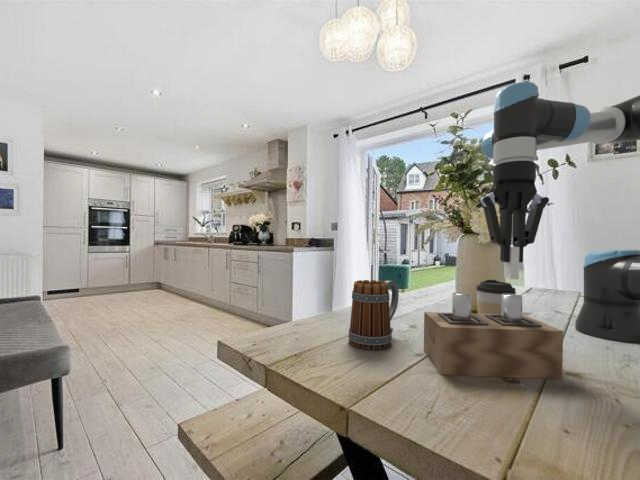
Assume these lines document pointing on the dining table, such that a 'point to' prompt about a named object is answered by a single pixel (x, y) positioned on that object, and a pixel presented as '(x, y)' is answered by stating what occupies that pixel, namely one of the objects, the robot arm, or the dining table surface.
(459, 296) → the peg
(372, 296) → the mug
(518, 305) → the peg
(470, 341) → the socket block
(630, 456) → the dining table surface
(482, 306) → the coffee cup
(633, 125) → the robot arm
